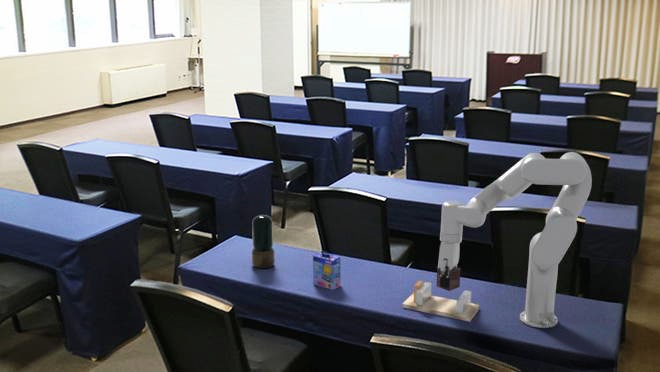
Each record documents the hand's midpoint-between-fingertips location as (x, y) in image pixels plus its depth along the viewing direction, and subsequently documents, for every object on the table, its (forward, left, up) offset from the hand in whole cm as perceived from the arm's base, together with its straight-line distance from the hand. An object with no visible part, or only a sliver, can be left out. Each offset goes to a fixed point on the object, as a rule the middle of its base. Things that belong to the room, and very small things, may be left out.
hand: (448, 283), depth 240 cm
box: (0, 0, -2) cm, 2 cm away
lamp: (+56, +60, -10) cm, 83 cm away
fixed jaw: (-4, -5, -9) cm, 11 cm away
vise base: (+1, +2, -10) cm, 10 cm away
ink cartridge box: (+30, +38, -10) cm, 50 cm away
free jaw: (+6, +8, -8) cm, 13 cm away
